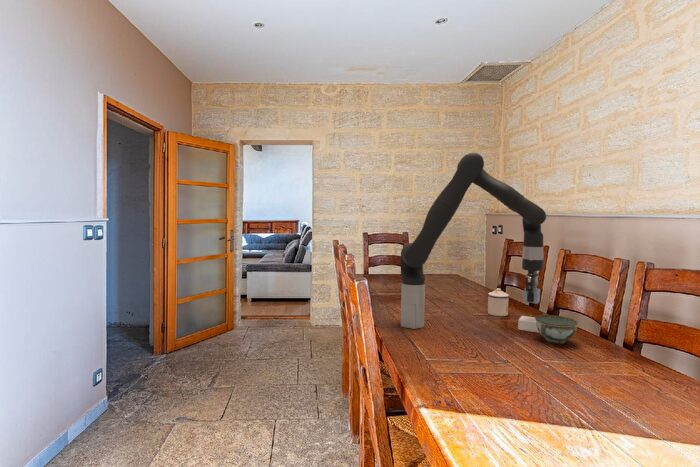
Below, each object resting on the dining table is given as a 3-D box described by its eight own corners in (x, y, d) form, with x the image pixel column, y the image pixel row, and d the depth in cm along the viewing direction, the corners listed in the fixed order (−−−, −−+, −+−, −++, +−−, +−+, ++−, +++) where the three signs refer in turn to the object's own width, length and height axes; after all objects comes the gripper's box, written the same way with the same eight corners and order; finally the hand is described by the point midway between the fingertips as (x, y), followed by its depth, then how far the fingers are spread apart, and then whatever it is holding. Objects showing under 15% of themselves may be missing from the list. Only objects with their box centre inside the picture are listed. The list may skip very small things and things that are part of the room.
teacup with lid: (511, 316, 170) (512, 290, 170) (491, 316, 171) (491, 290, 170) (502, 310, 182) (502, 285, 182) (482, 309, 183) (483, 285, 182)
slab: (540, 333, 147) (540, 323, 147) (517, 330, 152) (518, 320, 151) (543, 328, 154) (543, 318, 154) (521, 325, 158) (521, 315, 158)
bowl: (583, 349, 129) (584, 326, 129) (540, 346, 132) (541, 323, 132) (569, 336, 143) (569, 315, 142) (530, 334, 145) (530, 313, 145)
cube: (537, 303, 149) (537, 290, 149) (523, 301, 152) (523, 289, 151) (539, 301, 153) (539, 288, 153) (525, 299, 156) (526, 287, 156)
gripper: (525, 255, 159) (524, 296, 160) (518, 258, 148) (517, 302, 149) (545, 256, 155) (544, 298, 156) (540, 260, 143) (539, 305, 144)
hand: (531, 300), depth 152 cm, fingers closed on cube, 5 cm apart
